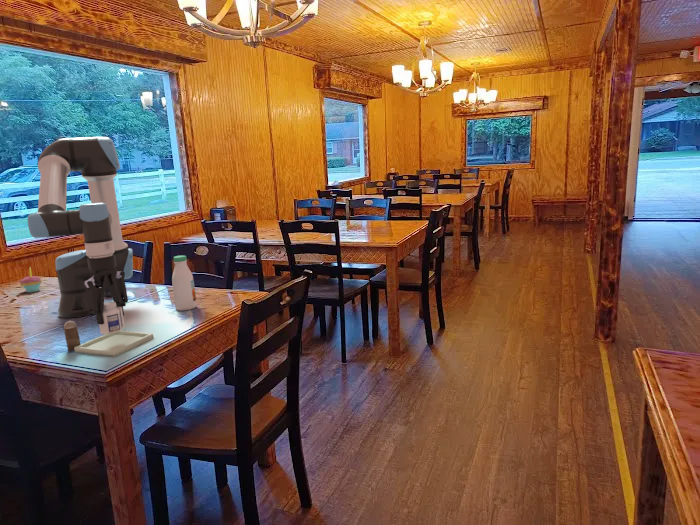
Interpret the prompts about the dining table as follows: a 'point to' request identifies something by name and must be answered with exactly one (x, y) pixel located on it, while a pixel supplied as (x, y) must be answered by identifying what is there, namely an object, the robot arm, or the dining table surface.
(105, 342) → the tray
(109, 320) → the pill bottle
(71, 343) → the pepper shaker
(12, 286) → the dining table surface
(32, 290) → the cupcake
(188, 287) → the milk bottle
